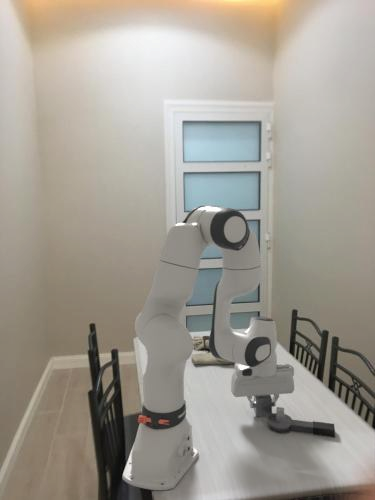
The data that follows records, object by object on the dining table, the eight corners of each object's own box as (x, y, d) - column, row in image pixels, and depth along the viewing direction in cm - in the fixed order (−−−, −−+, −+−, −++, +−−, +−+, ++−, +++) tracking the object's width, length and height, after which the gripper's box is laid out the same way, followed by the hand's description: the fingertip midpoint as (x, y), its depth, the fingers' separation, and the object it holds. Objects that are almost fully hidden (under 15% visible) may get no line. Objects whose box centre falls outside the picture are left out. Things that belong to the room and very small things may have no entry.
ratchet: (335, 440, 115) (335, 422, 114) (267, 431, 120) (267, 413, 120) (333, 427, 122) (333, 409, 121) (269, 419, 127) (269, 402, 126)
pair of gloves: (192, 342, 199) (192, 332, 198) (244, 341, 198) (244, 331, 198) (190, 367, 169) (190, 355, 169) (252, 367, 168) (252, 354, 168)
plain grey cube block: (271, 416, 129) (271, 398, 128) (256, 416, 129) (256, 399, 128) (268, 408, 134) (269, 391, 133) (253, 408, 134) (253, 391, 133)
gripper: (290, 360, 133) (290, 399, 135) (229, 363, 131) (230, 404, 133) (297, 367, 127) (297, 409, 129) (233, 371, 125) (234, 414, 127)
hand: (262, 406), depth 131 cm, fingers closed on plain grey cube block, 5 cm apart
